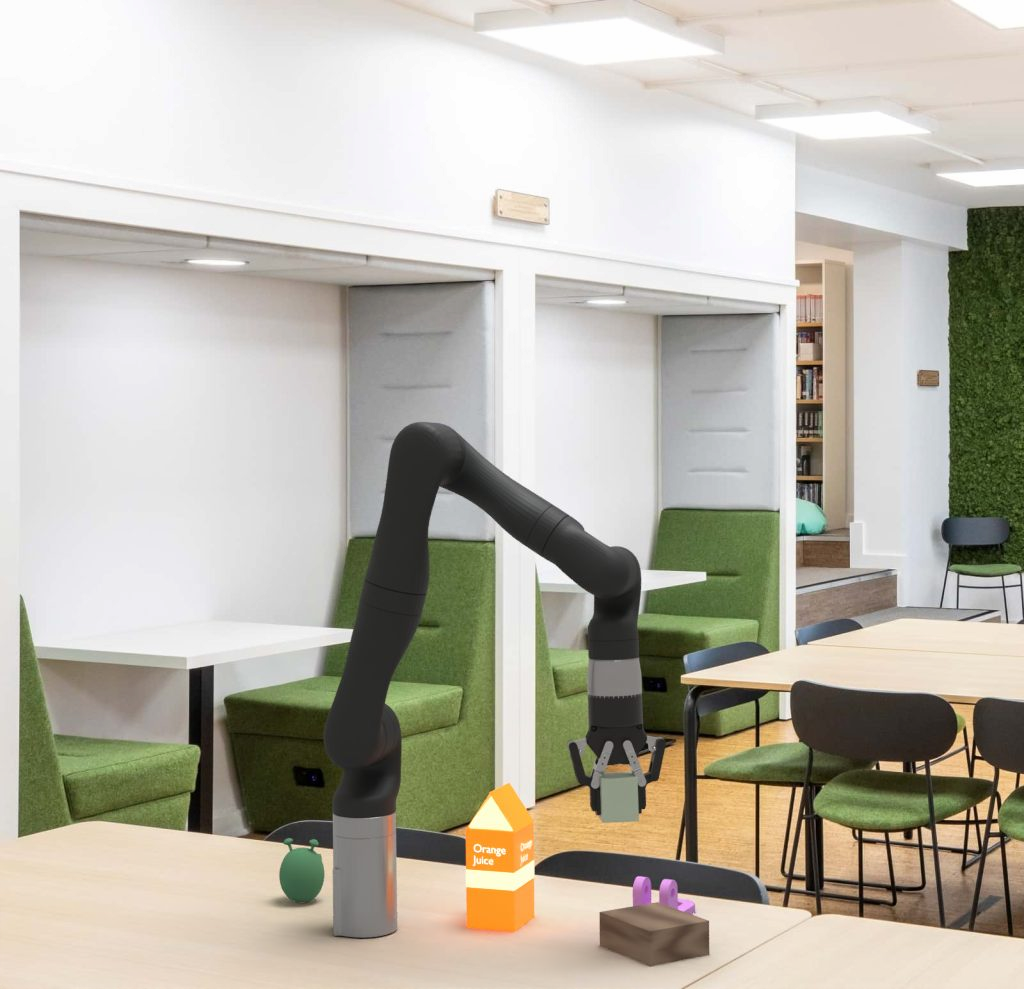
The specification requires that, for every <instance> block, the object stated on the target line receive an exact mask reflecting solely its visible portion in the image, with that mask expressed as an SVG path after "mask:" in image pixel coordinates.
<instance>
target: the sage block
mask: <svg viewBox="0 0 1024 989" xmlns="http://www.w3.org/2000/svg"><path fill="white" fill-rule="evenodd" d="M599 788H600V795H601V815H597V817H598V818H599V820H600V821H601V823H602V824H609V823H610V824H613V823H630V822H632V823H633V822H635V823H637V822H639V821H640V816H639V815H640V814H639V810H638V778H637V776H634V774H633V773H632V771H619V772H618V771H617V772H616V771H614V772H604V774H603V776H602V777H600V785H599Z"/></svg>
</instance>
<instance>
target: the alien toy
mask: <svg viewBox="0 0 1024 989" xmlns="http://www.w3.org/2000/svg"><path fill="white" fill-rule="evenodd" d="M293 842H294V839H293V838H290V837H288V838H285V839H284V841H283V842H282V843H283V845H286V846H288V850H289V851H288V852H287V853H286V854H285V855H284V858H283V859H282V861H281V863H280V867H279V875H278V877H279V878H278V879H279V885H280V887H281V889H282V893H284V895H285V896H286V897H287V899H289V900H291V901H292V902H294V901H295V902H294V903H298V902H305V903H308V901H309V902H312V900H315V898H317V897H318V895H319V894H320V893H321V891H322V888H323V885H324V881H325V866H324V862H323V858H322V854H321V853H318V852H316V851H315V850H314V848H315V847H318V846H319V845H320V844H319V841H318V840H317V839H314V838H313V839H310V840H309V844H310V845H311V846H310V848H308V847H296V848H293V847H292V843H293Z"/></svg>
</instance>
